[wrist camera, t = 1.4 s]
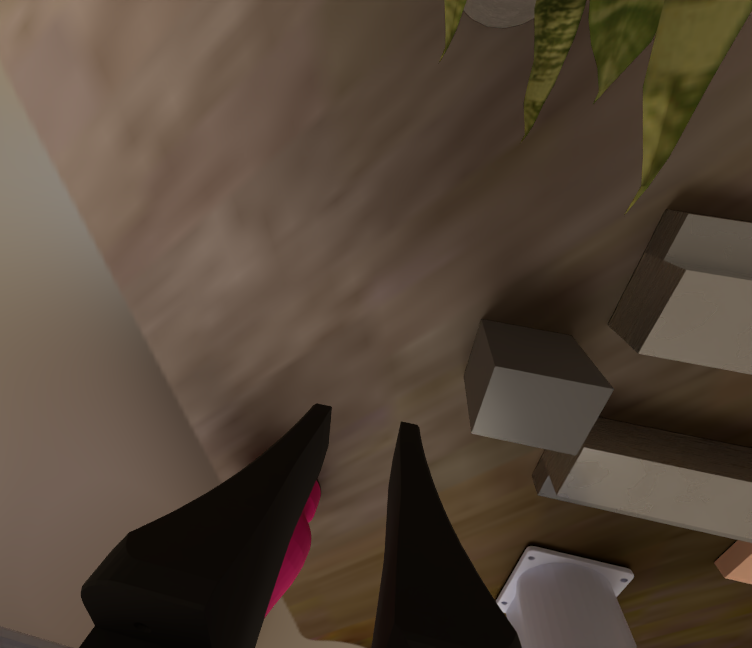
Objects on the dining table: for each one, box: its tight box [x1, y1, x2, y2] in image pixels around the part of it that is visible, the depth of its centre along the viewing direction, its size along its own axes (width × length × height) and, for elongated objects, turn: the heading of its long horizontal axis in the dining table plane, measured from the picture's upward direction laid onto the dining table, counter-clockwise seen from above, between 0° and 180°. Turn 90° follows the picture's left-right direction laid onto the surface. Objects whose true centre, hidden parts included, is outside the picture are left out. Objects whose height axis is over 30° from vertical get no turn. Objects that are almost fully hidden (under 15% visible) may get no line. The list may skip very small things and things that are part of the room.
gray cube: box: [464, 319, 614, 456], centre depth 17 cm, size 4×5×5 cm
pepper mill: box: [264, 480, 321, 618], centre depth 19 cm, size 7×7×20 cm
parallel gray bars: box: [532, 209, 752, 543], centre depth 17 cm, size 18×14×3 cm
